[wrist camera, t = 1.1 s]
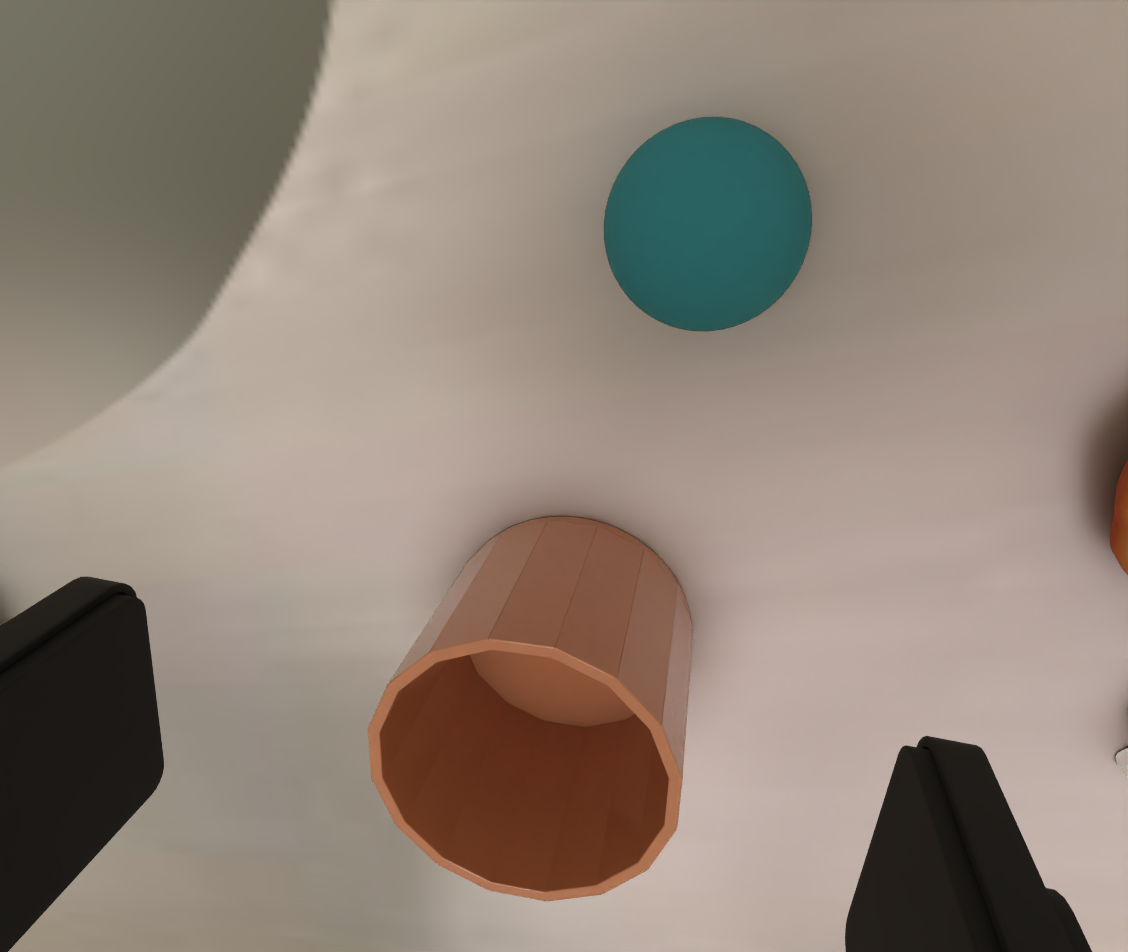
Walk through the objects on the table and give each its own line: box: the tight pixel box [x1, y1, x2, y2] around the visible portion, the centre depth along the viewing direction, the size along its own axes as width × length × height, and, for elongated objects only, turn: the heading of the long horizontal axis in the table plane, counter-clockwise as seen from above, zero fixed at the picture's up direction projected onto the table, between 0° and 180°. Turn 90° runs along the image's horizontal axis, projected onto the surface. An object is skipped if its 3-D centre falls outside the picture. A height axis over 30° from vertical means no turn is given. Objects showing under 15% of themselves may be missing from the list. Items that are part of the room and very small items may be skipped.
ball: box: [604, 117, 812, 331], centre depth 23 cm, size 6×6×6 cm
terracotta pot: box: [368, 516, 693, 901], centre depth 29 cm, size 10×10×9 cm
